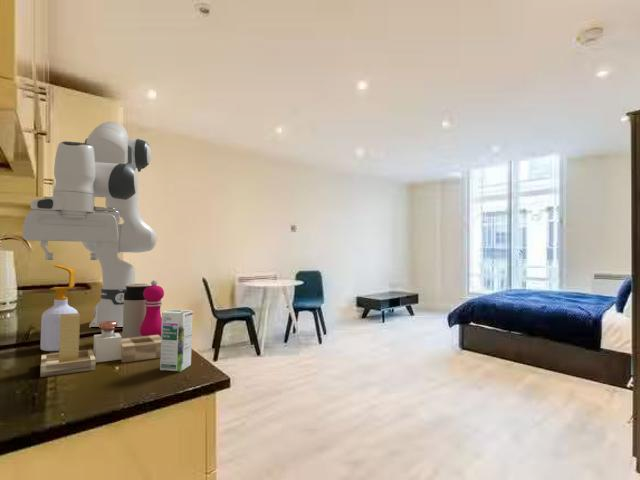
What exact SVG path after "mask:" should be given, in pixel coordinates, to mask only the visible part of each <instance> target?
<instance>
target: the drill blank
mask: <svg viewBox="0 0 640 480" xmlns="http://www.w3.org/2000/svg"><path fill="white" fill-rule="evenodd" d="M80 322H81V314H80V313H79V312H78V313H75V314H61V315H60V340H59V351H58V353H59V363H62V362H70V361H78V357H79V351H80V350H79V349H80V329H81V328H80V327H81V326H80V325H81V323H80Z"/></svg>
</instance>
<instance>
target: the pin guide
mask: <svg viewBox="0 0 640 480" xmlns="http://www.w3.org/2000/svg"><path fill="white" fill-rule="evenodd" d="M101 335H102V333H101V334H94V335H93V349H92V351H93V353H94V356H95V359H96V363H103V362H109V361H110V362H111V361H118V360H121V342H122V336H121V335H122V334H120V333H119V332H114V337H107V338H101Z"/></svg>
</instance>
